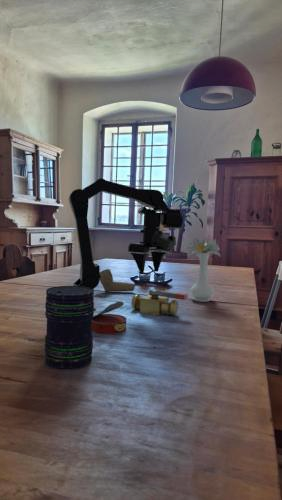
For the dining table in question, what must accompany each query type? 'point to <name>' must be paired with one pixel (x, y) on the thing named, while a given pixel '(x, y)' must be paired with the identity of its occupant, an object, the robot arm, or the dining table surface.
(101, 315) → the canned food
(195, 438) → the dining table surface
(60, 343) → the storage jar
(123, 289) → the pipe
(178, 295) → the lever
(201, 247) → the flower vase
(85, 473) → the dining table surface
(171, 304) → the valve
